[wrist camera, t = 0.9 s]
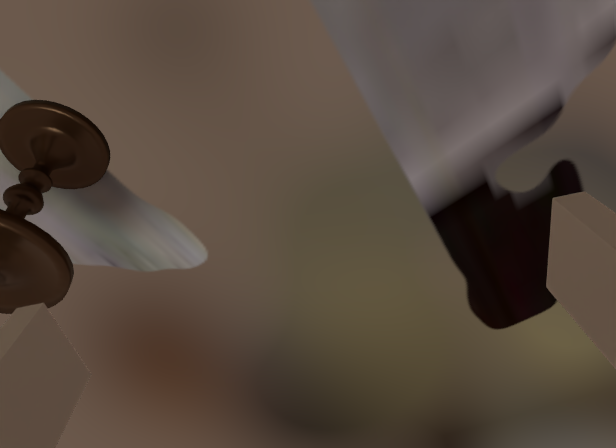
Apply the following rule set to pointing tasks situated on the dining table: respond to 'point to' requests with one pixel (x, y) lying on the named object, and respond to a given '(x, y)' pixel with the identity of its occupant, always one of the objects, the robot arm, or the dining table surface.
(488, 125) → the dining table surface
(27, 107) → the candlestick
